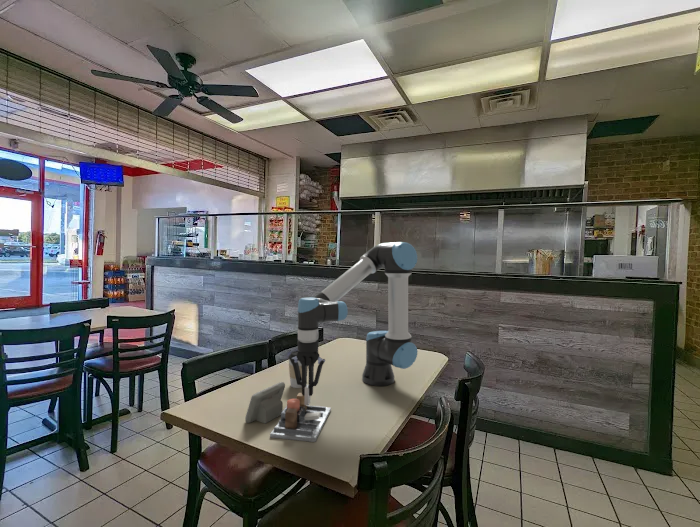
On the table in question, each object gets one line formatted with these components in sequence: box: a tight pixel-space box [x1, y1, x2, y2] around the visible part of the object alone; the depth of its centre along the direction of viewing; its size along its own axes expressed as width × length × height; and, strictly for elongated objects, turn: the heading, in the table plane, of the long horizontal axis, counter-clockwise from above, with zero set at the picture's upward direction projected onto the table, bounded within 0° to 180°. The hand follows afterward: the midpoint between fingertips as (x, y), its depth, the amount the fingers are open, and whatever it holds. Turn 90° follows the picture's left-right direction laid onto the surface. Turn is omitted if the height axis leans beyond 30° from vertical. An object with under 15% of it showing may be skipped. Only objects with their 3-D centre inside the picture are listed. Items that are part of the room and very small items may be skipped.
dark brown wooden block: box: [285, 408, 297, 429], centre depth 113 cm, size 3×3×6 cm
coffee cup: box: [287, 350, 309, 389], centre depth 154 cm, size 9×9×15 cm
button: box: [286, 398, 300, 412], centre depth 120 cm, size 4×4×3 cm
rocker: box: [304, 412, 321, 420], centre depth 119 cm, size 5×3×1 cm, turn 80°
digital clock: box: [244, 381, 286, 424], centre depth 124 cm, size 16×9×11 cm, turn 138°
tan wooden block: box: [296, 392, 307, 411], centre depth 126 cm, size 3×3×6 cm
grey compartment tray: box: [269, 404, 332, 443], centre depth 119 cm, size 15×22×4 cm
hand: (307, 403), depth 126 cm, fingers closed
